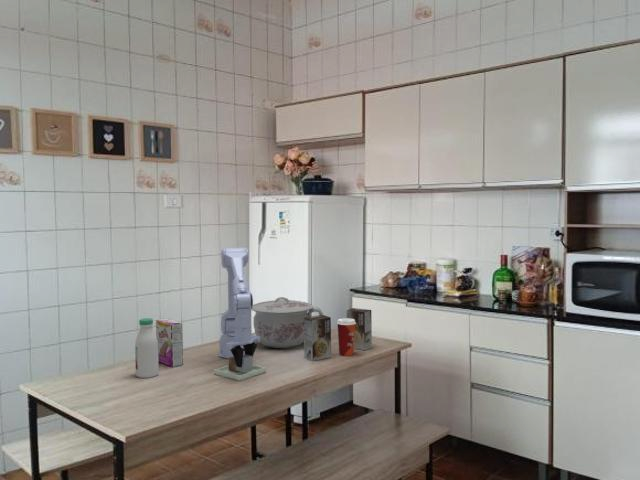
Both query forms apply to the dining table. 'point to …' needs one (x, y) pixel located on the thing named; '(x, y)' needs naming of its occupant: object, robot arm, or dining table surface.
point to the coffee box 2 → (361, 328)
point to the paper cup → (346, 336)
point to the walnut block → (232, 364)
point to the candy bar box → (169, 342)
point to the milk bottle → (146, 350)
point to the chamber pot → (281, 322)
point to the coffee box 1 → (317, 337)
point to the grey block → (245, 364)
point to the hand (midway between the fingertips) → (243, 365)
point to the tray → (239, 373)
